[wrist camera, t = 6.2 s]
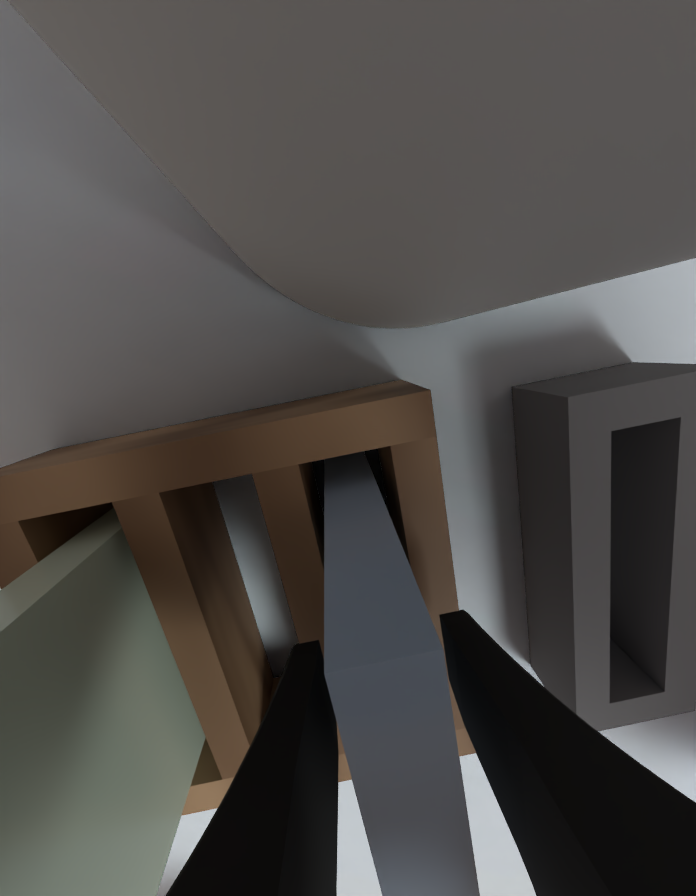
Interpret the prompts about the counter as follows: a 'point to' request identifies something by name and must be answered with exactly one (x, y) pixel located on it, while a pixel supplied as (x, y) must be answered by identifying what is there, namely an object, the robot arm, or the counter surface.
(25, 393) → the counter surface
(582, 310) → the counter surface
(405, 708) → the blue grey tile
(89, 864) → the thin sage green tile
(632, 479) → the stand
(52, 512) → the rack
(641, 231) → the cylinder vase
